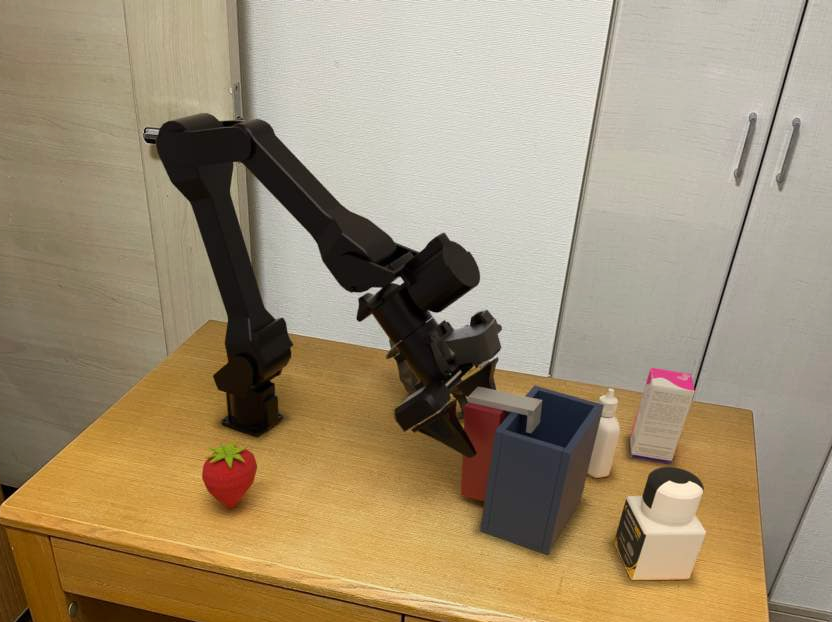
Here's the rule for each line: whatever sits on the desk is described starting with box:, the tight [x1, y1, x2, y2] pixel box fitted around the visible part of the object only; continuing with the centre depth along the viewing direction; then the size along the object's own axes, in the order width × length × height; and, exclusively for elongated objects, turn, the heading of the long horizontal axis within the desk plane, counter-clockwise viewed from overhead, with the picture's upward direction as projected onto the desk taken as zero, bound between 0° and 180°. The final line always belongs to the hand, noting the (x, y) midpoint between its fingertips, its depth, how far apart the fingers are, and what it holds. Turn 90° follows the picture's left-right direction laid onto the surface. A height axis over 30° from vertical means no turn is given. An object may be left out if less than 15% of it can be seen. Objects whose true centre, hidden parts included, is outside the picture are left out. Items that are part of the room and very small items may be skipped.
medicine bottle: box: [613, 466, 707, 581], centre depth 92 cm, size 7×7×12 cm
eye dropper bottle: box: [587, 388, 621, 479], centre depth 107 cm, size 4×6×12 cm
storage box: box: [479, 384, 604, 556], centre depth 97 cm, size 9×13×14 cm
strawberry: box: [201, 439, 258, 509], centre depth 96 cm, size 6×8×10 cm
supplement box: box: [629, 367, 696, 464], centre depth 111 cm, size 6×6×12 cm
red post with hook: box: [460, 387, 542, 502], centre depth 98 cm, size 8×5×13 cm, turn 63°
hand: (488, 438), depth 98 cm, fingers open, 9 cm apart
